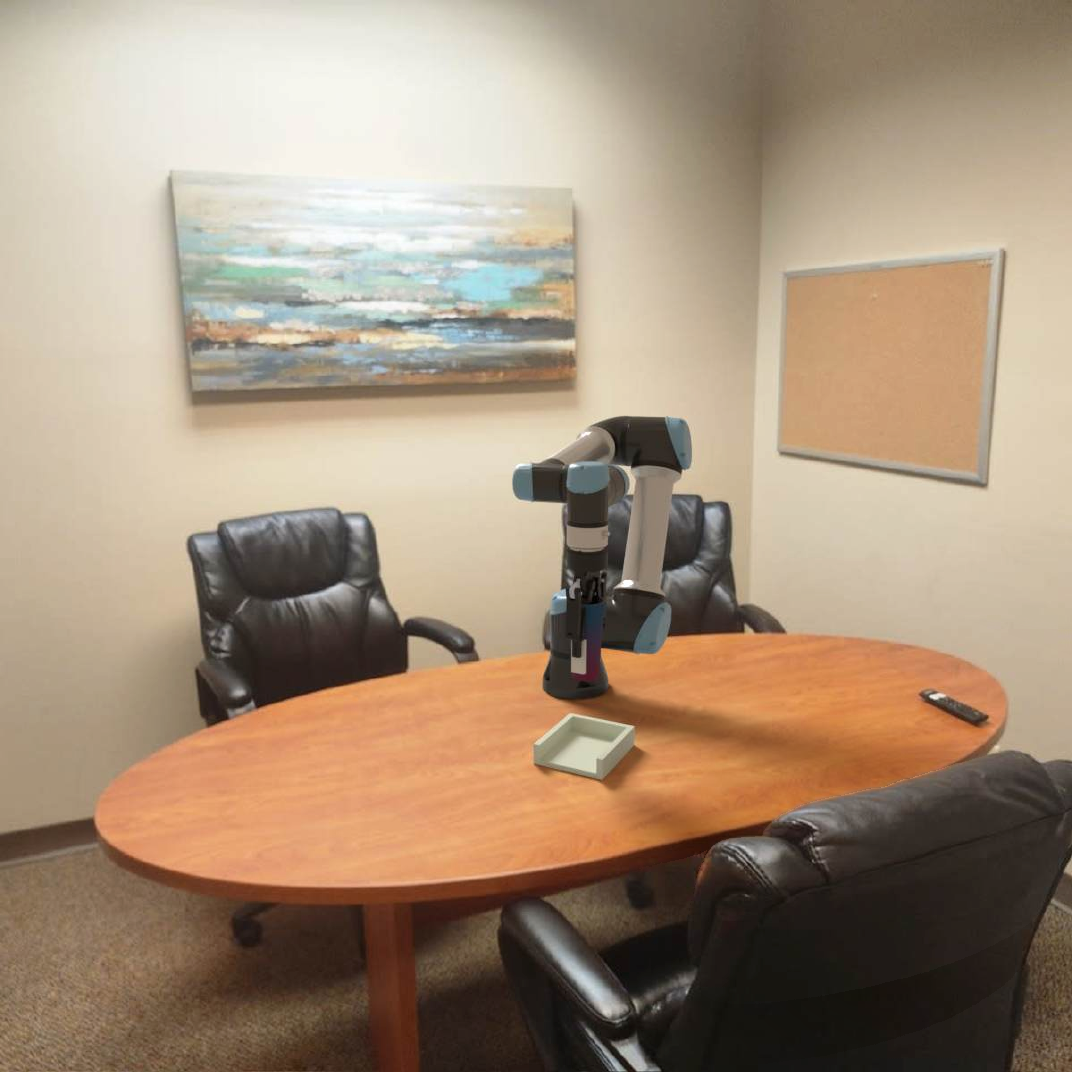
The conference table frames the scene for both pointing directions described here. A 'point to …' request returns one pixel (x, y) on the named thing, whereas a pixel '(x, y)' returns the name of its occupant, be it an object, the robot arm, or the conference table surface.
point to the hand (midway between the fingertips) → (586, 666)
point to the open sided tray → (584, 745)
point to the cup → (592, 640)
